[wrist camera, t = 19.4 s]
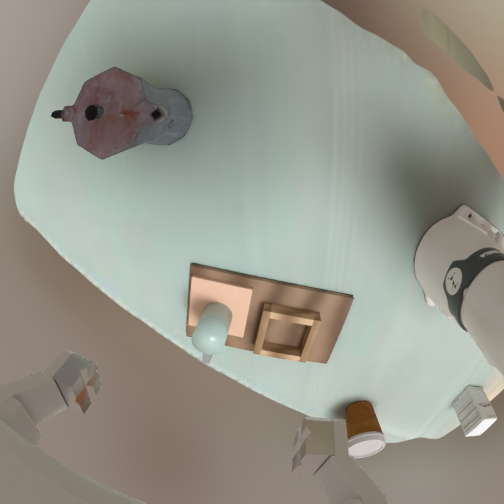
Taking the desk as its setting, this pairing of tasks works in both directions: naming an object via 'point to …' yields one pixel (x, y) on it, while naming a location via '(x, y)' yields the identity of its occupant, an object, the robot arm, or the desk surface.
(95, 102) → the moka pot
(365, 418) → the disposable coffee cup
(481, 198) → the desk surface
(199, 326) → the pale blue rounded piece
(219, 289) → the terracotta coaster
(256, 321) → the walnut board
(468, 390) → the supplement box
